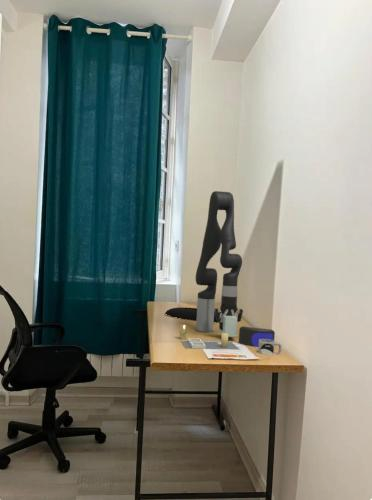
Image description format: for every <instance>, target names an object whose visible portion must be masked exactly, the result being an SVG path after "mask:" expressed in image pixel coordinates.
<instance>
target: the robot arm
mask: <svg viewBox="0 0 372 500" xmlns="http://www.w3.org/2000/svg"><path fill="white" fill-rule="evenodd" d="M219 211H225V219H224V222H223V224H222V227H220V225H219V222H218V212H219ZM236 247H237V241H236V235H235V200H234V195H233V193H231V192H229V191H218V190H216V191H215V190H214V191H213V192H212V193H211V194H210V197H209V204H208V212H207V222H206V226H205V232H204V236H203V241H202V247H201V253H200V258H199V261H198V265H197V267H196V272H195V283H196V285H198V286H207V287H206V288H205V289H203V290H201V291H199V292H198V293H197V302H196V303H197V304H196V305H197V306H196V308H197V319H196V321H195V331H198V332H202V333H203V332H205V333H210V332H211V333H212V332H214V324H215V323H214V311H215V318H216V320H217V321H219V322H218V324H219V325H218V329H219V328H220V330H223V318H224V316H236V313H238V314H237V316H236V317H237V323H238V322H241V321H242V318H243V317H242V316H243V313H244V310H243V309H242V308H238V306H237V305H238V295H239V294H238V278H239V274H240V272H241V268H242V264H243V258H242V256H241V255H240V254H239V253H230V251H232V250H235V249H236ZM220 248H221V250H220ZM219 250H220V258H219V262H220V265H221V267H222V268H224V269H230V271H229V272H226V273H223V275H222V287H221V301H220V307H216V306H215V305H216V293H217V284H218V272H217V269H215V268H213V267H211V268H210V267H208V265H209V262H210V261H211V260H212V258H213V257H214V256H215V255H216V254H217V253H218V251H219ZM219 312H222V315H223V316H222V315H221V317H220V319H219V314H218V313H219Z"/></svg>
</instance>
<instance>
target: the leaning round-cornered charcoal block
mask: <svg viewBox="0 0 372 500" xmlns="http://www.w3.org/2000/svg"><path fill="white" fill-rule="evenodd" d="M238 330H239V331H238V344H240V345H243V346H248V347H253V348H258V346H259V339H270V340H274V341H275V337H276V336H275V334H276V333H275V331H274V330H273V329H269V328H261V327H259V328H258V327H252V326H251V327H250V326H245V325H244V326H240V327H239V329H238Z"/></svg>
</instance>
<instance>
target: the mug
mask: <svg viewBox="0 0 372 500" xmlns="http://www.w3.org/2000/svg"><path fill="white" fill-rule="evenodd" d="M275 346H278V348H279V349H278V351H275ZM257 349H258V350H257V352H258V353H259V354H262V355H274V354H276V355H280V354H281V353H282V344H281V343H279V342H275V339H274V340H270V339H259V346H258V347H257Z"/></svg>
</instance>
